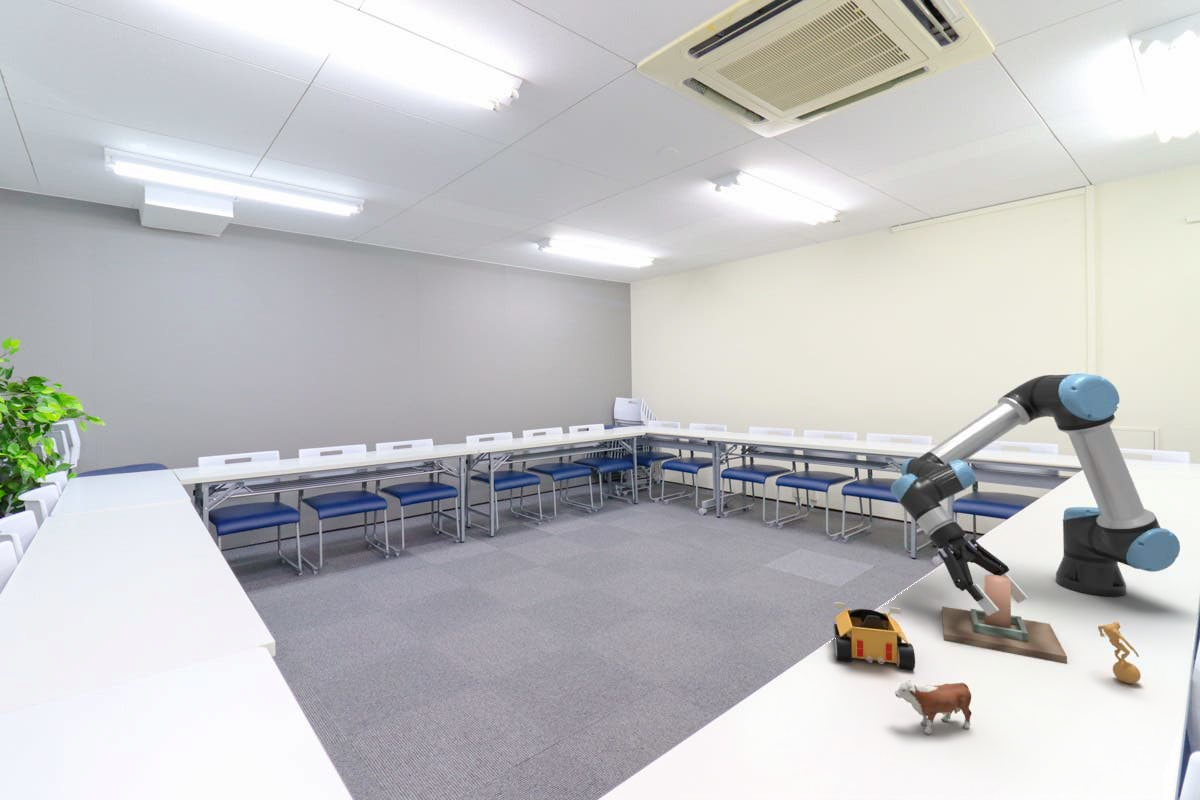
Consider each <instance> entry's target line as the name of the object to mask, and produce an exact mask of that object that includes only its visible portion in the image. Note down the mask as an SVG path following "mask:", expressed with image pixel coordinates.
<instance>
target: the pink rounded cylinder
mask: <svg viewBox="0 0 1200 800" xmlns="http://www.w3.org/2000/svg"><path fill="white" fill-rule="evenodd" d="M983 578H984V579H983V581H984V584H983V586H984V588H983V589H984V590H983V591H984V592H985V594H986V595H987V596H988V597H989V598H990V600H991V601H992V602H993V603H994V604H995V605H996V607H997V608H998V609H999V610H998V611H997V612H995V613H993V614H991V615H989V616H988V615H987V614H986V613H985V625H991V626H997V627H1003V628H1009V629H1011V615H1012V611H1011V610H1012V609H1011V607H1012V605H1011V603H1012V600H1011V599H1012V596H1011V580H1010V579H1008V578H1006V577H1003V576H998V575H994V574H985V575H984V577H983Z"/></svg>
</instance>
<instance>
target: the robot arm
mask: <svg viewBox="0 0 1200 800" xmlns="http://www.w3.org/2000/svg"><path fill="white" fill-rule="evenodd" d="M1119 395H1120V394H1119V391H1118V390H1117V388H1116V387H1115V385H1114V384H1113V383H1112V382H1111V381H1109V379H1107V378H1105V377H1102V376H1100V375H1096V374H1086V373H1075V374H1073V373H1072V374H1049V375H1048V374H1045V375H1040V376H1037V377H1034V378H1032V379H1030V380H1027V381H1025V382H1023V383H1022V384H1020V385H1018V386H1016V387H1015V388H1013V389H1012V390H1011V391H1009V392H1006V394H1004V395H1003V396H1001V397H1000V398H998V400H997V404H996V405H995V406H993V407H992V408H990V409H989V410H988V411H986V412H985V413H983V414H982V415H980V416H979V417H977V418H976V419H974V420H973V421H971V422H970V423H968V424H967V425H965V426H964V427H962V428H961V429H959V430H958V431H957V432H955V433H954V434H952V435H950V436H949V437H948V438H947V439H945V440H943V441H942V442H941V443H939V444H937V445H936V446H934V447H933V448H931V449H930V450H929V451H927V452H926V453H924V454H922V455H921V456H919V457H909V458H907V459H905V460H904V461H903V463H902V464H901V467H900V473H901V477H899V478H898V479H896V480H895V481H894V482H893V483H892V484H891V485H890V492H891V493H892V494H893V495H892V496H894V497H895V499H896V500H897V502H898V503H899V505H901V506H902V507H903V508H904V510H906V512H907V513H908V514H909V515H910V516H911V518H912V519H913V521H915V522H916V523H917V524H918V526H919V528H920V529H921V530H922V531H923V532H924V533H925V534H926V535H927V536H929V539H930V540H931V542H932V543H933V544H934V545H935V547H936V548H937V549H939V550H938V551H937V553H938V555H939V557H940V558H941V559H942V562H943V563H944V565H945V568H946V570H947V572H948V574H949V576H950V578H951V580H952V582H953V584H954V586H955V587H956V588H957V589H959V590H960V591H961V592H964V591H965V590H966V591H967V593H968V594H969V595H970V596H971V597H972V598H973V600H974V601H975V602H976V603H977V605H978V606H979V607H980V608H981V609H982V611H984V612H985V613H986V614H987V615H988V616H989V615H991V614H993V613H995V612H997V611H998V610H999V609H998V608H997V607H996V605H995V604H994V603H993V602H992V601H991V600H990V598H989V597H988V596H987V595H986V594H985V592H984V590H983V589H982V588H981V586H979V584H978V583H975V584H974V580H973V577H972V575H971V570H970V568H969V564H968V563H971V564H973V563H974V564H975V565H977V566H979V567H980V568H982V569H984V570H985V571H987V572H988V573H990V574H991V575H998V576H1003V577H1006V578H1008V579H1010V580H1011V599H1012V598H1013V600H1014V601H1015V602H1016V603H1017V604H1019V603H1021V602H1023V601H1024V600H1027V599H1029V596H1028V594H1026V593H1025V592H1024V590H1022V589H1021V587H1019V585H1018V584H1017V583H1016V582H1015V580H1013V578H1012V577H1011V576H1010V575H1009V574H1008V572H1010V569H1009V566H1008V565H1006V563H1004V562H1003V561H1002V560H1000V559H999V558H997V556H995V555H994V554H992V553H991V552H990V551H988V550H987V549H986V548H985V547H983V546H982V545H981V544H980V543H979V542H977V540H976V539H974V538H971V539H969V540H966V538H965V536H966V531H965V530H964V529H963V528H962V526H960V524H958V522H955V521H954V517H952V516H951V514H949V512H948V511H947V510H946V509H945V507H944V506H943V505H941V503H940V502H943V501H944V500H947V499H948V498H950V497H952V496H954V495H957V494H958V493H960V492H962V491H966V489H967V488H969V487H972V485H974V484H975V483H976V480H977V478H976V475H975V473H974V471H973V469H972V468H971V467H970V465H969V464H968V463H966V461H967V460H969V458H971V457H973V456H974V455H975V454H977V453H979V452H980V451H981V450H983V449H984V448H986V447H987V446H989V445H991V444H993V443H994V442H995V441H996V440H998V439H1000V438H1001V437H1002V436H1004V435H1006V434H1007V433H1008V432H1010V431H1012V430H1013V429H1014V428H1016V427H1017V426H1019V425H1020V426H1021V425H1022V426H1025V425H1028V424H1029V423H1031V422H1032V421H1034V420H1036V419H1040V418H1045V417H1047V418H1048V417H1049V418H1053V419H1054V422H1055V424H1056V426H1057V429H1058V431H1061V432H1063V433H1066V434H1067V435H1068V437H1069V439H1070V442H1071V444H1072V447H1073V449H1074V453H1075V454H1076V456H1077V459H1078V460H1079V461H1078V462H1079V463H1080V466H1081V469H1082V471H1083V473H1084V476H1085V479H1086V481H1087V483H1088V486H1089V488H1090V491H1091V493H1092V495H1093V497H1094V500H1095V503H1096V506H1097V507H1091V506H1090V507H1089V506H1085V507H1084V506H1073V507H1072V506H1071V507H1068V508H1066V509H1064V512H1063V519H1062V527H1063V528H1062V532H1063V536H1062V537H1063V539H1062V541H1063V543H1062V545H1063V556H1062V559H1061V561H1060V564H1059V566H1058V568H1057V570H1056V572H1055V582H1056V583H1057V584H1058V585H1060V586H1062V587H1065V588H1067V589H1069V590H1073V591H1076V592H1081V593H1083V594H1084V593H1085V594H1090V595H1096V596H1101V597H1104V596H1105V597H1122V596H1124V595H1126V594H1127V583H1126V581H1125V578H1124V577H1123V574H1122V572H1121V569H1120V567H1119V563H1121V564H1123V565H1126V566H1129V567H1130V568H1133V569H1137V570H1141V571H1145V572H1160V571H1164V570H1165V569H1167V568H1169V567H1170V566H1172V565H1173V564H1174V563H1175V562H1176V559H1177V558H1178V557H1179V554H1180V550H1181V545H1180V541H1179V539H1178V537H1177V535H1176V534H1175V533H1173V532H1172V531H1171V530H1168V529H1167V528H1162V527H1161V525H1160V523H1159V522H1158V519H1157V516H1156V515H1155V513H1154V512H1153V511H1150V510H1148V509H1145V507H1144V505H1143V502H1142V500H1141V498H1140V495H1139V492H1138V491H1137V488H1136V486H1135V483H1134V480H1133V478H1132V475H1131V474H1130V471H1129V468H1128V467H1127V464H1126V461H1125V458H1124V456H1123V454H1122V452H1121V450H1120V447H1119V444H1118V442H1117V440H1116V437H1115V435H1114V432H1113V430H1112V427H1111V424H1112V423H1113V422H1114V421H1115V420H1116V417H1115V413H1116V412H1117V411H1118V408H1119V407H1118V404H1120V396H1119Z"/></svg>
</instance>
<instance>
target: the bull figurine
mask: <svg viewBox="0 0 1200 800" xmlns="http://www.w3.org/2000/svg"><path fill="white" fill-rule="evenodd" d="M894 695H895V696H896V698H897V699H904V700H905V702H907V703H909V704H911V706H912V709H914V711H915V712H917V713H918V714H919V715H921V716H922V720H921V722H920V725H921V726H925V729H924V730H923V733H924V735H926V736H930V735H931V733H932V725H933V723H934V720H935V717H936V715H937V714H942V715H943V716H942V717H941V718H940V720H941V721H942V722H945V723H947V722H948V721H949V720H951V719H952V717H951V716H952V713H953V712H954V714H958V712H960V711H961V712H962V714H963V715H964V723H963V724H962V726H961V727H962V728H963V729H965V730H969V729H970V726H971V716H972V711H971V709H970V705H971V702H972V693H971V691H970V689H969V686H968V685H967V684H966V683H964V682H955V683H944V684H939V685H938V684H937V685H928V684H927V685H925V684H921V683H920V684H913V683H912V682H911V680H906V681H904V682H902V683H901V684H900V686H899V687H898V688H897V690H894Z"/></svg>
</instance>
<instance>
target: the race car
mask: <svg viewBox="0 0 1200 800" xmlns="http://www.w3.org/2000/svg"><path fill="white" fill-rule="evenodd" d="M845 604H846V603H844V602H841V601H840V602H838V601H836V602H835V601H834V603H833V608H837V609H843V610H842V611H840V613H839V614H836V616H835V617H834V619H835V622H836V623H833V639H835V638H836V639H835V640H834V653H835V659H836V660H837V661H841V662H842V661H843V662H852V659H861V660H862V659H863V660H866V661H867V662H868V663H873V661H877V662H878V664H881V665H884V663H886V662H887V663H892V664H896V666H897V668H899V669H905V670H915V667H916V656H915V650H914V649H915V648H914V647H913V644H912V643H909V641H908V639H907V637H906V635H905V634H904V632H903V630H902V628H901V626H900V624H899V623H898V621H896V620H895V619H894V618H893V617H892V616H891V614H895V615H899V614H900V615H901V614H902V609H901V607H900V608H899V607H889V612H888V613H887V612H882V611H881V612H879V611H877V610H874V609H869V608H866V609H865V608H855V609H849V608H846V607H845V606H846V605H845ZM903 641H904V642H903Z"/></svg>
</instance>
